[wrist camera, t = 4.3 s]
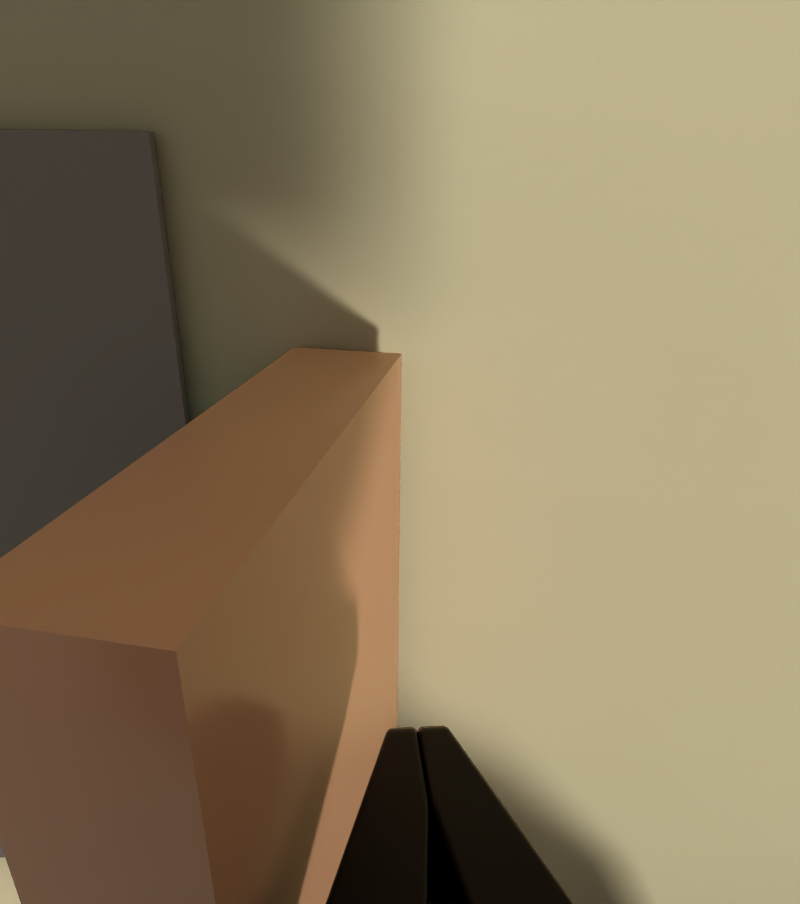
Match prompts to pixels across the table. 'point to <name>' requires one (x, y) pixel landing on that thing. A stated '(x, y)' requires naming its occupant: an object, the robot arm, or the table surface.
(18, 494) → the mat
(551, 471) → the table surface
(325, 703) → the tile
